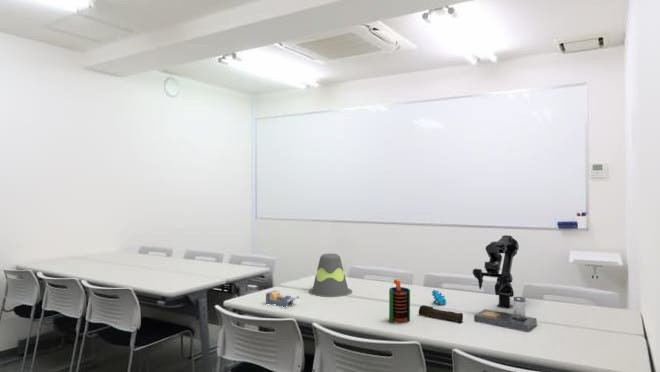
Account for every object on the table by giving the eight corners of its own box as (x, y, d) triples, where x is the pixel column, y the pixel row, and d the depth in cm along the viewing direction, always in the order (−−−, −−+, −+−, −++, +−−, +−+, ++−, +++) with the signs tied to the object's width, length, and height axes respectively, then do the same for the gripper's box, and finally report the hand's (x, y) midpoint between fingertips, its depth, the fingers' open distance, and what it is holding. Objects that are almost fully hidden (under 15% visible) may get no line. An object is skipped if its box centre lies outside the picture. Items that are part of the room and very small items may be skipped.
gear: (440, 304, 237) (430, 289, 243) (433, 310, 240) (423, 295, 245) (451, 303, 244) (441, 288, 250) (444, 309, 247) (434, 294, 253)
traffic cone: (353, 297, 260) (352, 257, 261) (307, 297, 261) (306, 257, 261) (351, 286, 288) (351, 251, 288) (309, 287, 288) (309, 251, 289)
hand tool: (463, 321, 212) (463, 310, 212) (460, 324, 208) (460, 312, 208) (421, 313, 225) (421, 303, 226) (417, 316, 222) (417, 305, 222)
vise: (263, 304, 245) (263, 292, 245) (275, 300, 253) (274, 289, 253) (288, 309, 235) (288, 296, 235) (299, 304, 244) (299, 293, 244)
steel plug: (515, 322, 208) (515, 296, 209) (526, 325, 205) (526, 297, 205) (512, 325, 205) (512, 298, 205) (523, 327, 201) (523, 299, 201)
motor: (395, 324, 207) (395, 283, 207) (385, 319, 215) (384, 279, 215) (412, 321, 211) (412, 280, 212) (401, 316, 219) (401, 277, 219)
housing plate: (485, 314, 222) (485, 308, 222) (536, 324, 205) (536, 317, 205) (474, 321, 211) (474, 314, 211) (527, 332, 195) (527, 324, 195)
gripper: (472, 253, 225) (466, 279, 217) (510, 256, 214) (504, 284, 206) (478, 264, 232) (472, 290, 224) (514, 268, 220) (509, 295, 212)
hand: (489, 290), depth 216 cm, fingers open, 9 cm apart
